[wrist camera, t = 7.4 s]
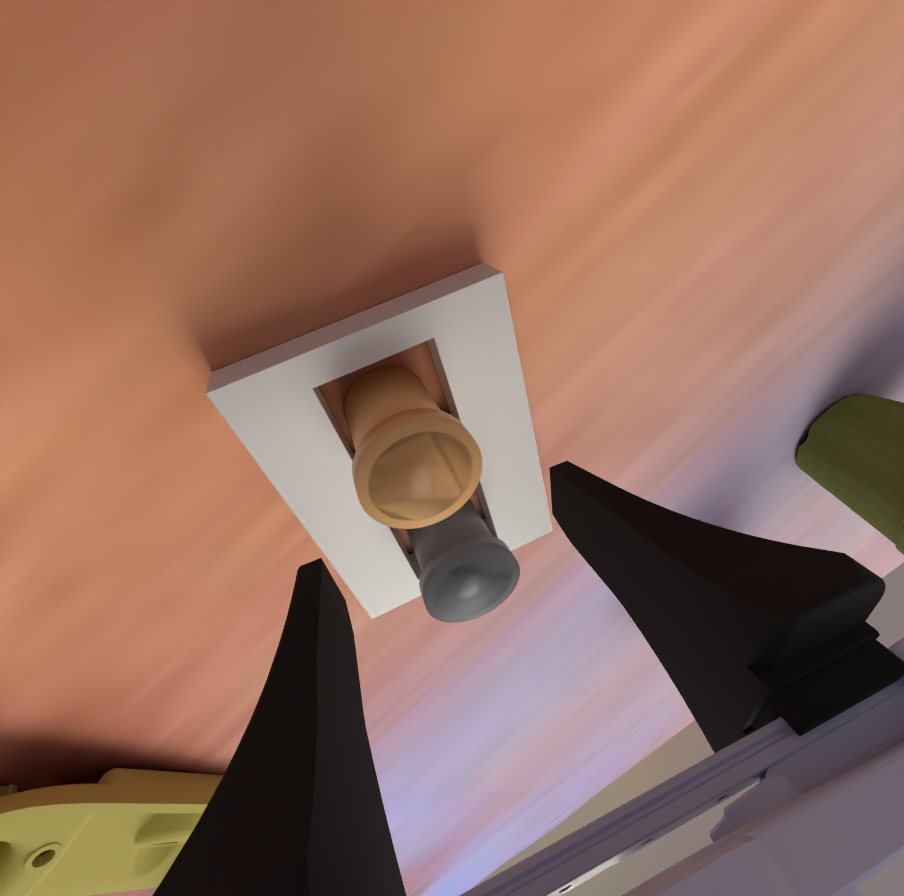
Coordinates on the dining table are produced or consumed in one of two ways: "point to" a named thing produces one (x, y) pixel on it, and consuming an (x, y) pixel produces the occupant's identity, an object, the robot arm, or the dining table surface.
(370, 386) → the tan rubber stopper
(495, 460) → the housing
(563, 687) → the dining table surface
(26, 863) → the plastic component
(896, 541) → the plant pot
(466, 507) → the charcoal flared cup
